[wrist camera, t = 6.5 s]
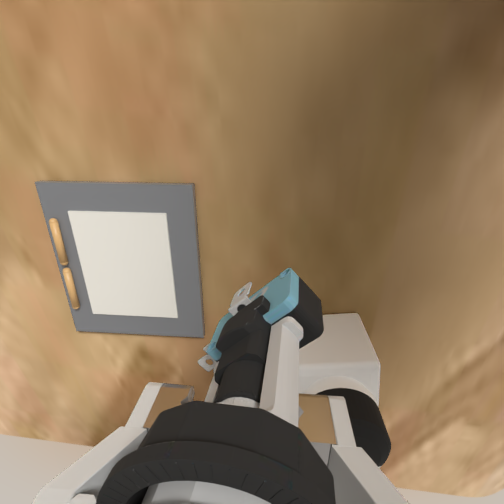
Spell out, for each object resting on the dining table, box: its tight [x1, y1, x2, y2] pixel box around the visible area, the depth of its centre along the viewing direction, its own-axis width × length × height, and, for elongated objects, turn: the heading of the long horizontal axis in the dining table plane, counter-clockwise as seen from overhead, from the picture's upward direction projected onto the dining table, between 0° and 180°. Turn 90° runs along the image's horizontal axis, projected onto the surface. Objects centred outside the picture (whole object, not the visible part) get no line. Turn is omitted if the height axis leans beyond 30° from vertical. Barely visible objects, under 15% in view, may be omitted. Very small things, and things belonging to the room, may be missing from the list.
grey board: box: [35, 181, 205, 338], centre depth 29 cm, size 14×16×1 cm
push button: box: [96, 268, 336, 504], centre depth 10 cm, size 7×5×10 cm
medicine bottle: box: [299, 313, 391, 468], centre depth 26 cm, size 7×7×12 cm
